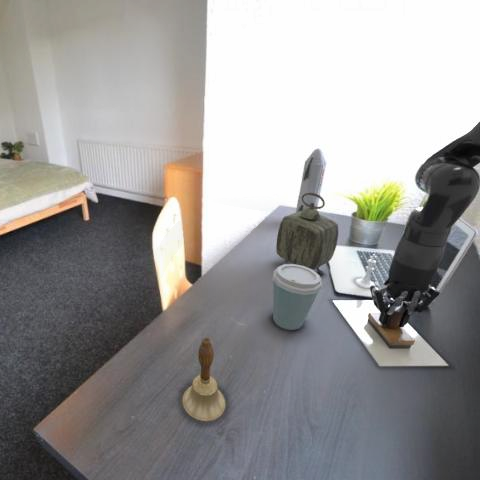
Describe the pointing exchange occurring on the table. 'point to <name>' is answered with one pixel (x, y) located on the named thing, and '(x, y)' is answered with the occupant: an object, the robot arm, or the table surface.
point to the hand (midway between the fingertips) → (391, 324)
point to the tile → (378, 349)
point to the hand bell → (204, 389)
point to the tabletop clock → (307, 237)
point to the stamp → (392, 330)
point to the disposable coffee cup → (294, 294)
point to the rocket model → (312, 179)
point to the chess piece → (367, 274)
